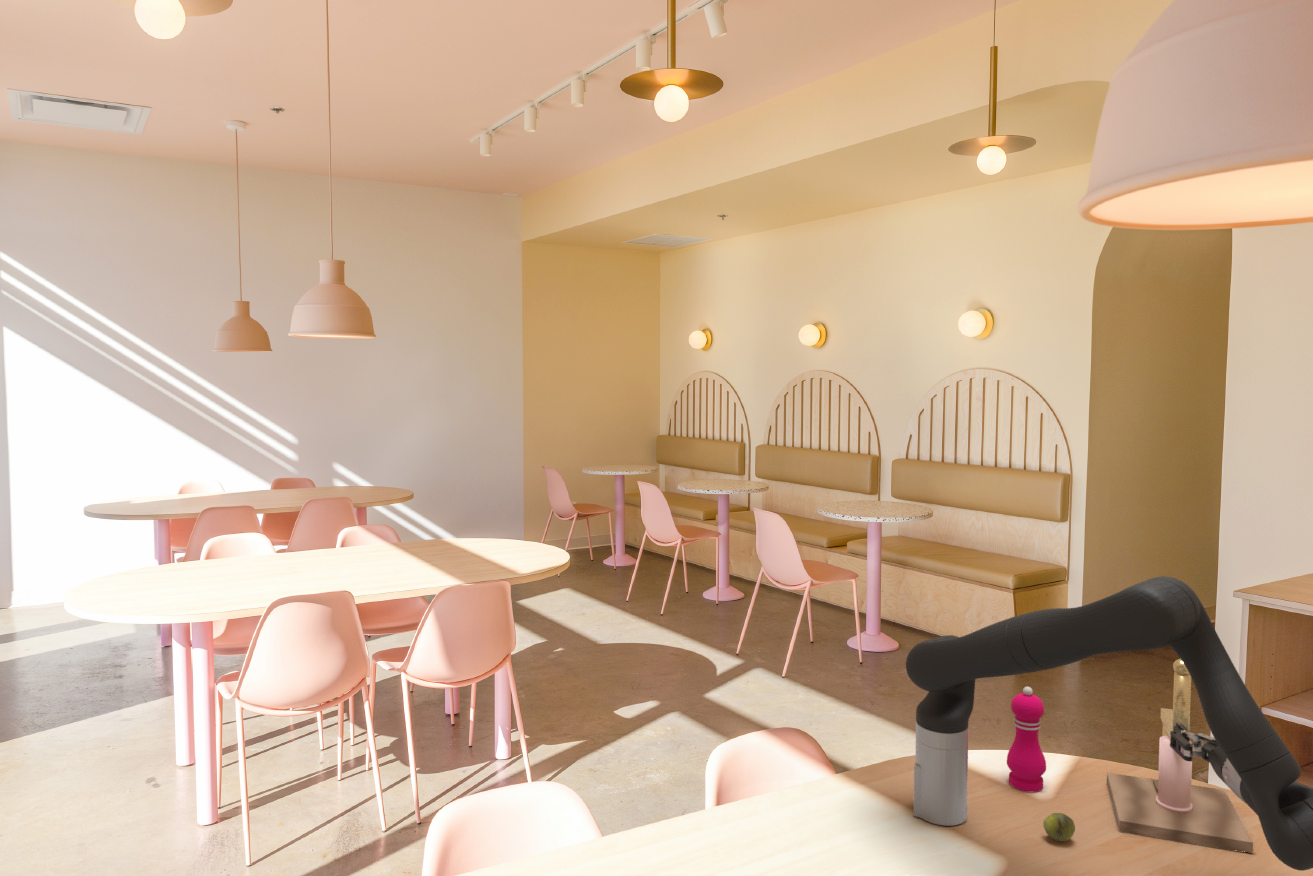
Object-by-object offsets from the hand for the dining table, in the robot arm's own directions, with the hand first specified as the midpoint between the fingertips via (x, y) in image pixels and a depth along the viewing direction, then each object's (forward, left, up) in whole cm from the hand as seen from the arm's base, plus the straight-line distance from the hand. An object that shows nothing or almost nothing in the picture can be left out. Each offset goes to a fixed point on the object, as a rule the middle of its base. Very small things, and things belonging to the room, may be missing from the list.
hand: (1206, 730), depth 142 cm
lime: (-22, -3, -22) cm, 31 cm away
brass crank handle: (-2, +16, -18) cm, 25 cm away
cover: (-2, +14, -20) cm, 25 cm away
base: (-2, +14, -22) cm, 26 cm away
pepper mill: (-27, +17, -22) cm, 39 cm away
